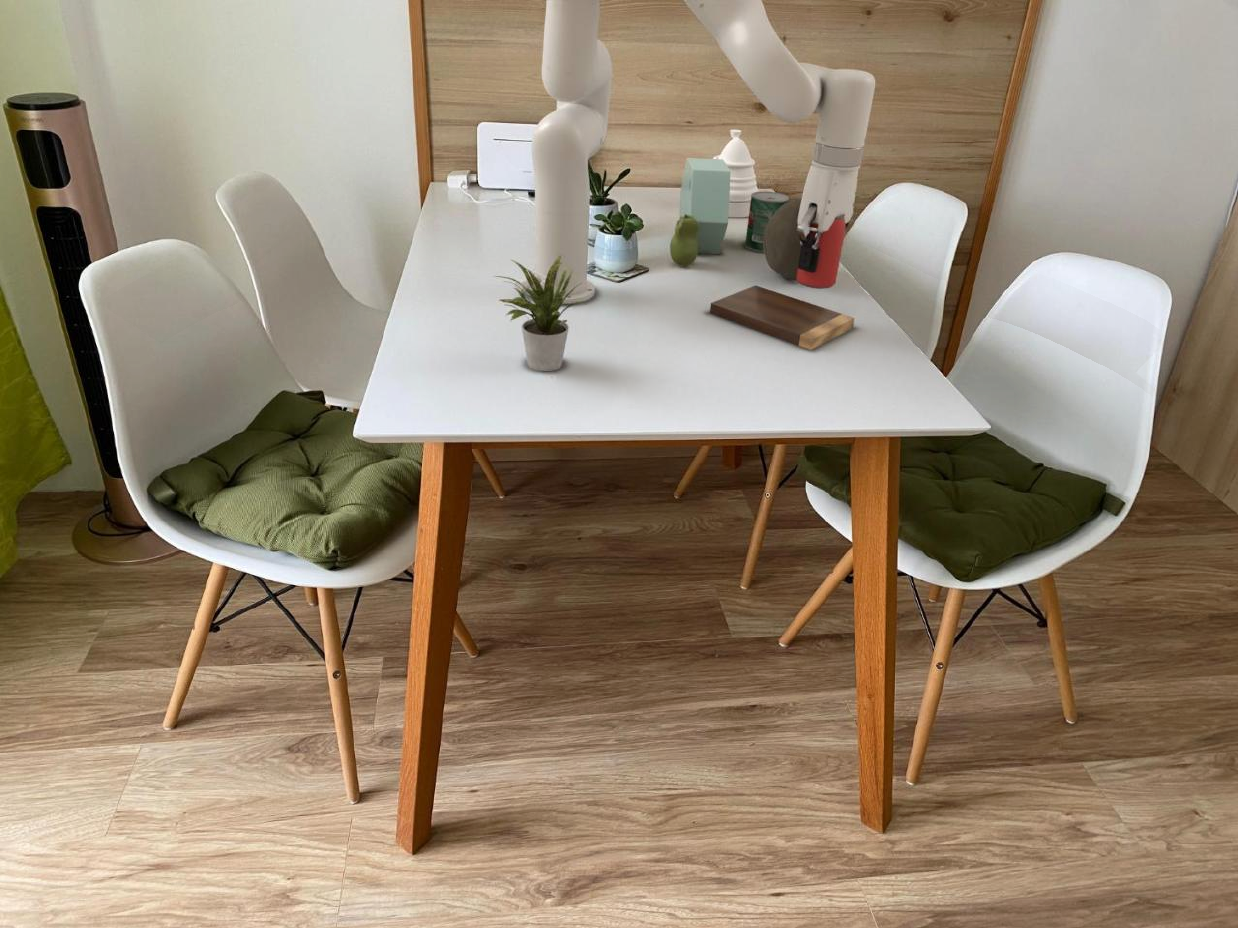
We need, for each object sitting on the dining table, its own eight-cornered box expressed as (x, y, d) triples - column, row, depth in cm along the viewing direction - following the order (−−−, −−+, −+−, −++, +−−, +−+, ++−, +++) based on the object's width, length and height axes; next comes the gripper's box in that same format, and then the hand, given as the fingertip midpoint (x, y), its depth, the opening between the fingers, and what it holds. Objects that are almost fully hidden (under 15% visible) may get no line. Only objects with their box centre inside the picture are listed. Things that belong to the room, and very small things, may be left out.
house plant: (508, 338, 148) (507, 239, 139) (592, 346, 147) (596, 247, 138) (488, 375, 136) (485, 270, 127) (579, 384, 135) (583, 279, 126)
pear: (690, 259, 187) (694, 211, 182) (700, 268, 183) (705, 219, 177) (665, 261, 185) (669, 212, 180) (675, 270, 181) (679, 220, 176)
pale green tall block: (715, 270, 196) (733, 204, 177) (679, 268, 195) (694, 203, 177) (711, 208, 203) (728, 139, 184) (676, 207, 202) (690, 137, 184)
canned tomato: (742, 240, 200) (748, 190, 194) (777, 242, 200) (784, 192, 195) (747, 252, 193) (754, 200, 187) (784, 253, 194) (792, 202, 188)
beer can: (807, 273, 157) (819, 204, 151) (842, 283, 154) (855, 213, 148) (788, 282, 153) (799, 211, 147) (823, 293, 149) (836, 220, 143)
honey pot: (696, 202, 225) (704, 126, 215) (746, 202, 227) (756, 127, 218) (710, 217, 214) (719, 138, 205) (762, 217, 216) (773, 139, 207)
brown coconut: (810, 295, 173) (823, 216, 165) (746, 276, 180) (756, 200, 172) (842, 277, 183) (856, 202, 175) (780, 260, 190) (791, 187, 182)
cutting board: (810, 350, 150) (812, 339, 149) (709, 313, 162) (710, 303, 161) (852, 328, 160) (854, 317, 159) (753, 295, 171) (755, 285, 170)
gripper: (844, 144, 150) (825, 249, 159) (787, 158, 139) (770, 271, 148) (885, 153, 146) (863, 260, 155) (830, 168, 135) (810, 283, 144)
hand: (818, 264), depth 152 cm, fingers closed on beer can, 6 cm apart
